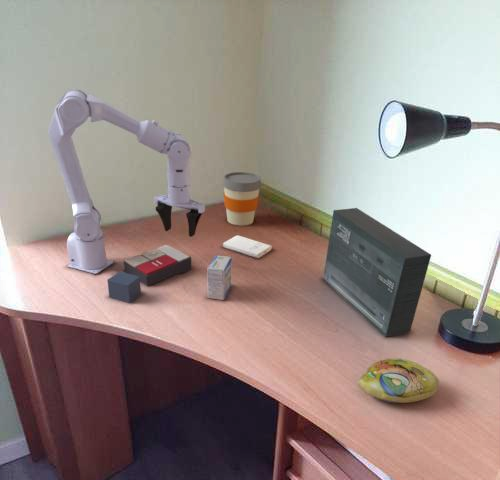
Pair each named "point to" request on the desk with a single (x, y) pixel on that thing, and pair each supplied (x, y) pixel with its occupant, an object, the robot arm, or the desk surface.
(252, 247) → the hard drive
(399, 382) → the cell model
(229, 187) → the reusable coffee cup
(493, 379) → the desk surface
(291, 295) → the desk surface
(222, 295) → the medicine box
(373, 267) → the cassette player
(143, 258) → the calculator
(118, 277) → the block
